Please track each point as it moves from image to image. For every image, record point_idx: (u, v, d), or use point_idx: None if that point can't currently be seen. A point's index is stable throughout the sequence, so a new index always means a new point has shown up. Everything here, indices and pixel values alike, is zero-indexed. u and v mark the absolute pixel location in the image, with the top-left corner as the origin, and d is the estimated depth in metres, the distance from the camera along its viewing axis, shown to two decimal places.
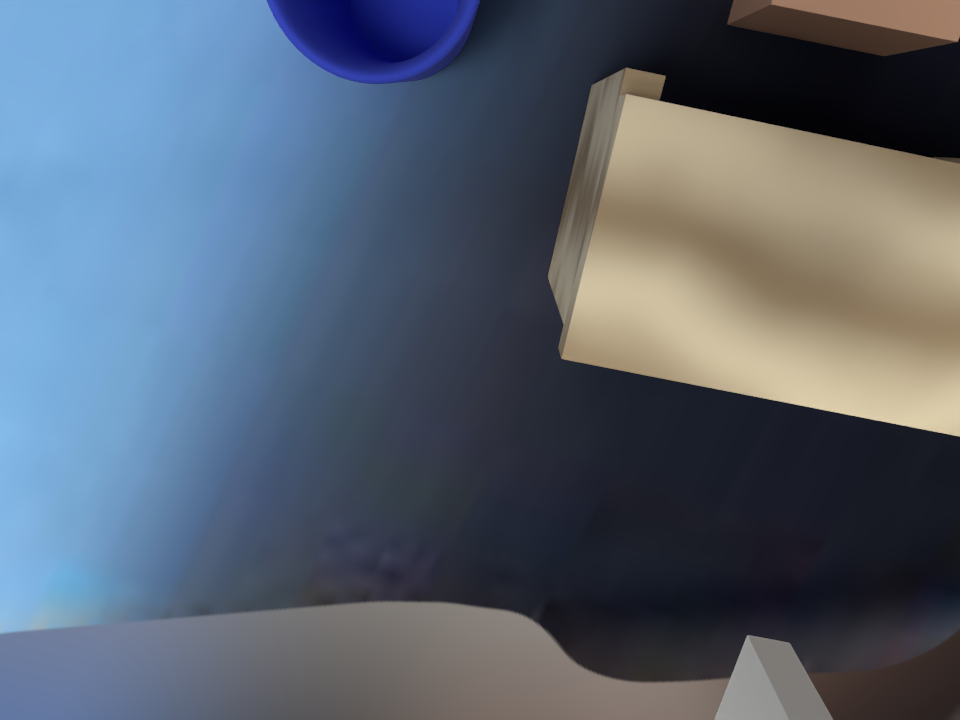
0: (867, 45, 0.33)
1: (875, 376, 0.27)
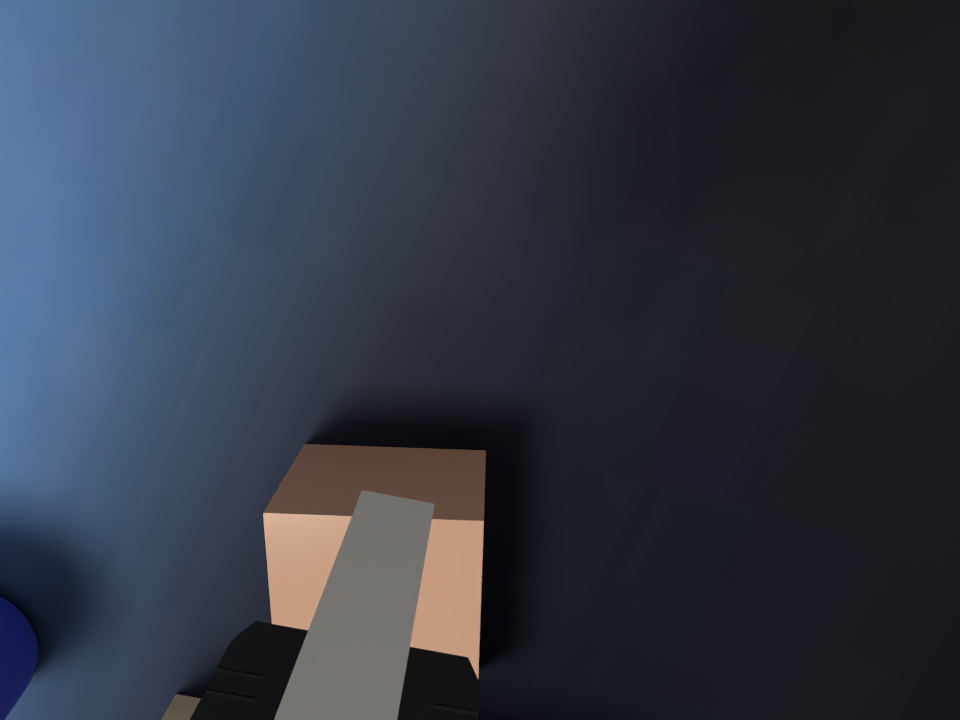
0: None
1: None
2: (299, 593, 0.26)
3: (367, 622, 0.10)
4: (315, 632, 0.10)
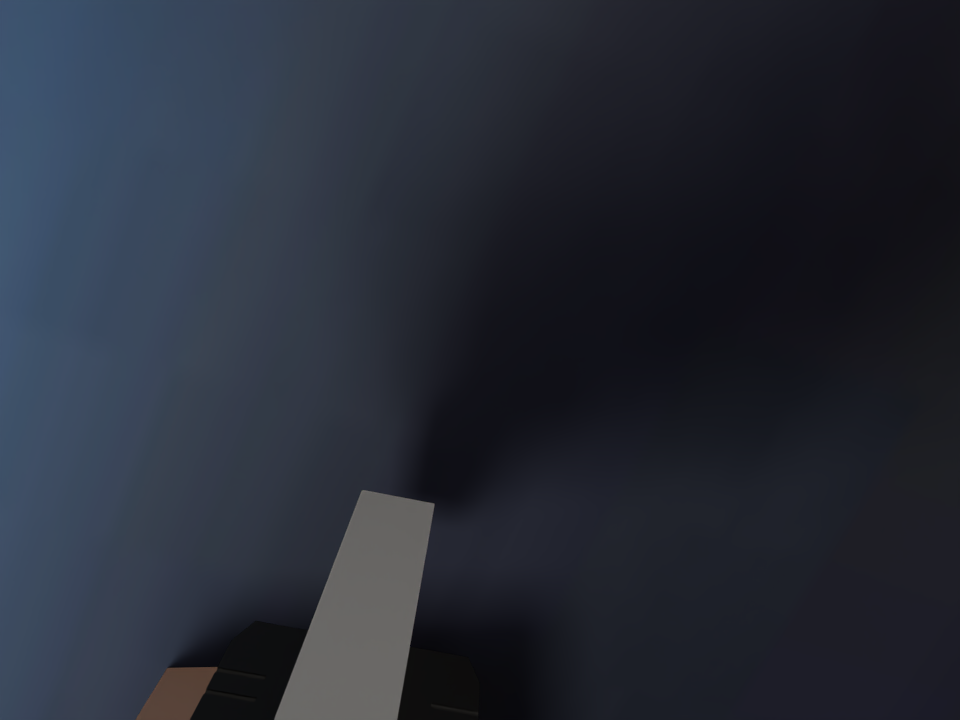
0: None
1: None
2: None
3: (367, 622, 0.10)
4: (315, 632, 0.10)
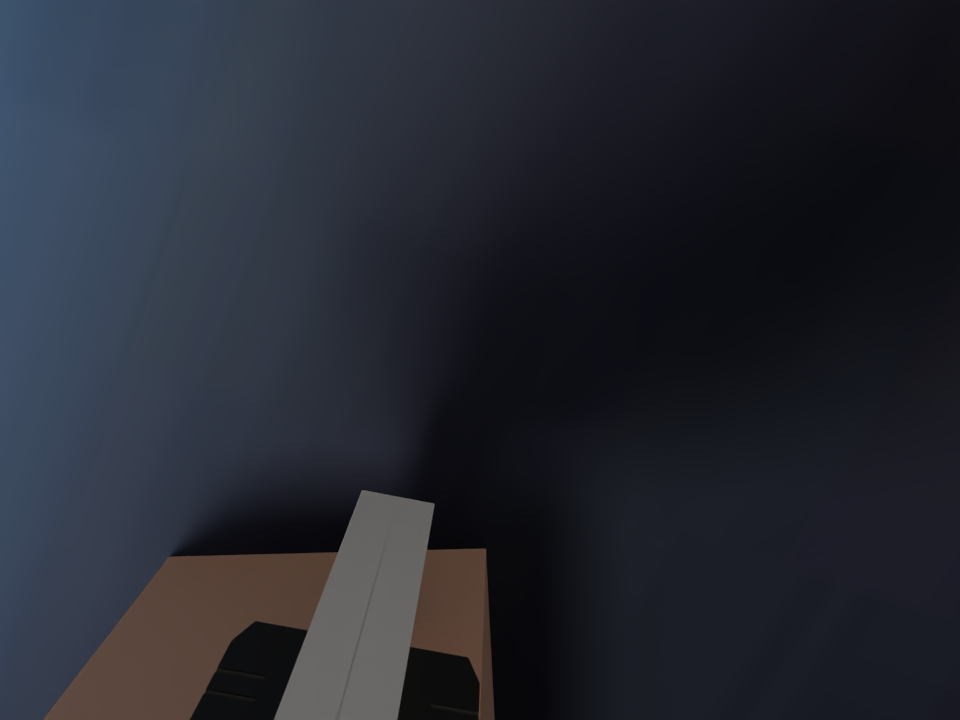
0: None
1: None
2: None
3: (367, 622, 0.10)
4: (315, 632, 0.10)
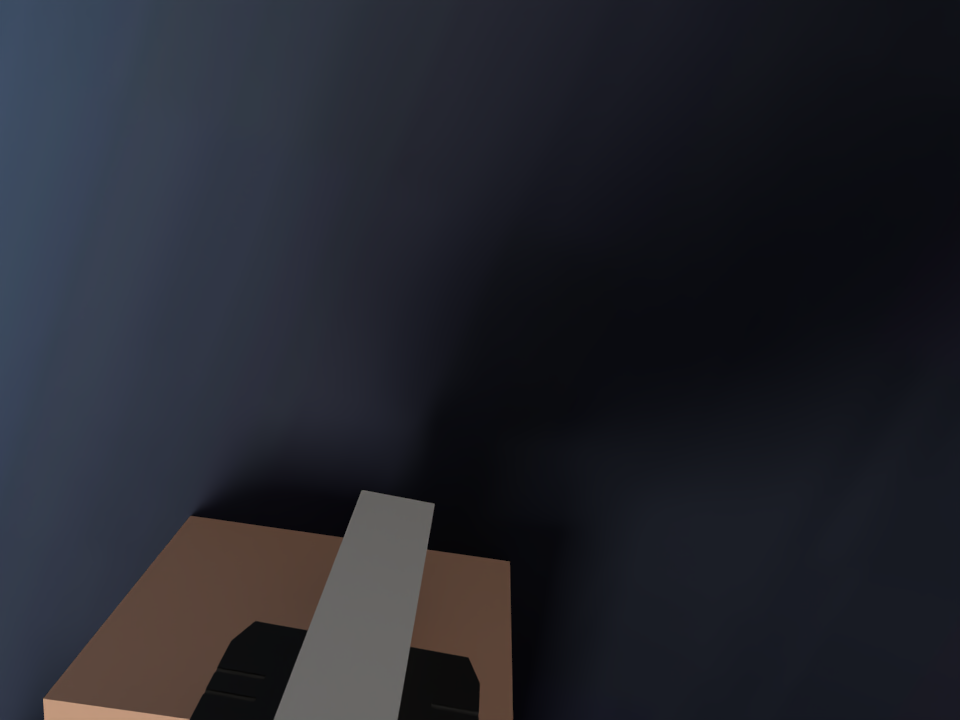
0: None
1: None
2: None
3: (367, 622, 0.10)
4: (315, 632, 0.10)
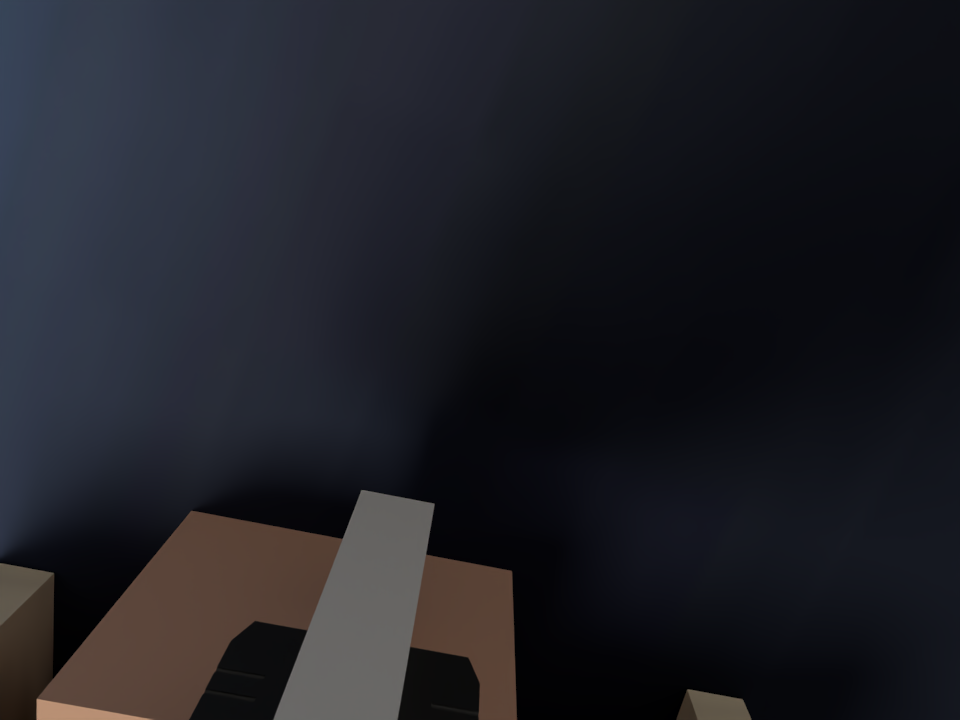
0: None
1: None
2: None
3: (367, 622, 0.10)
4: (314, 632, 0.10)
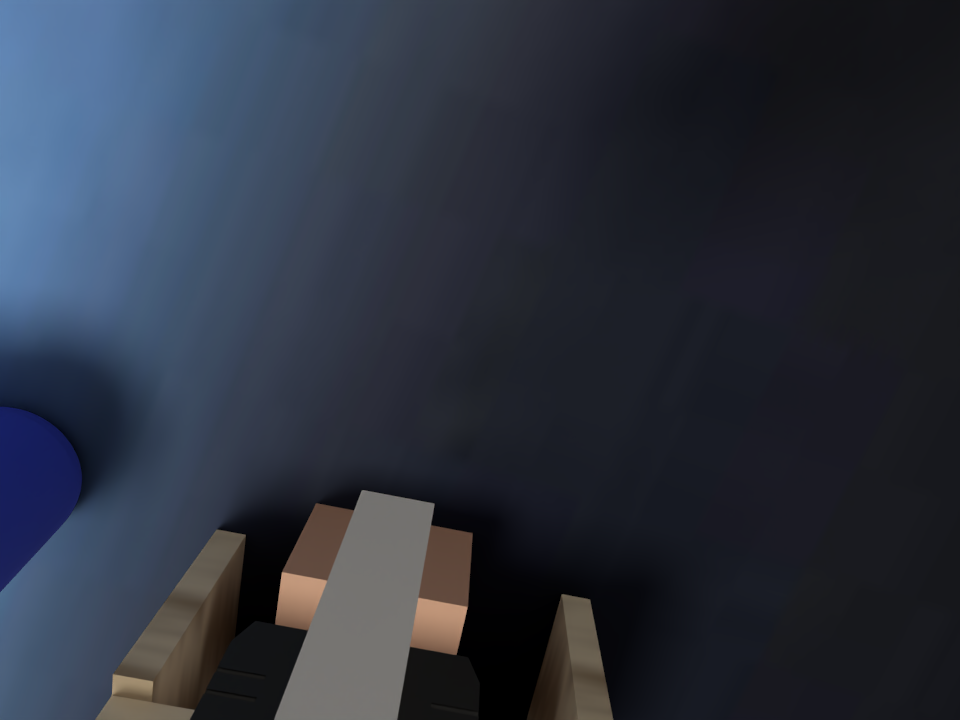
0: None
1: None
2: None
3: (367, 622, 0.10)
4: (315, 632, 0.10)
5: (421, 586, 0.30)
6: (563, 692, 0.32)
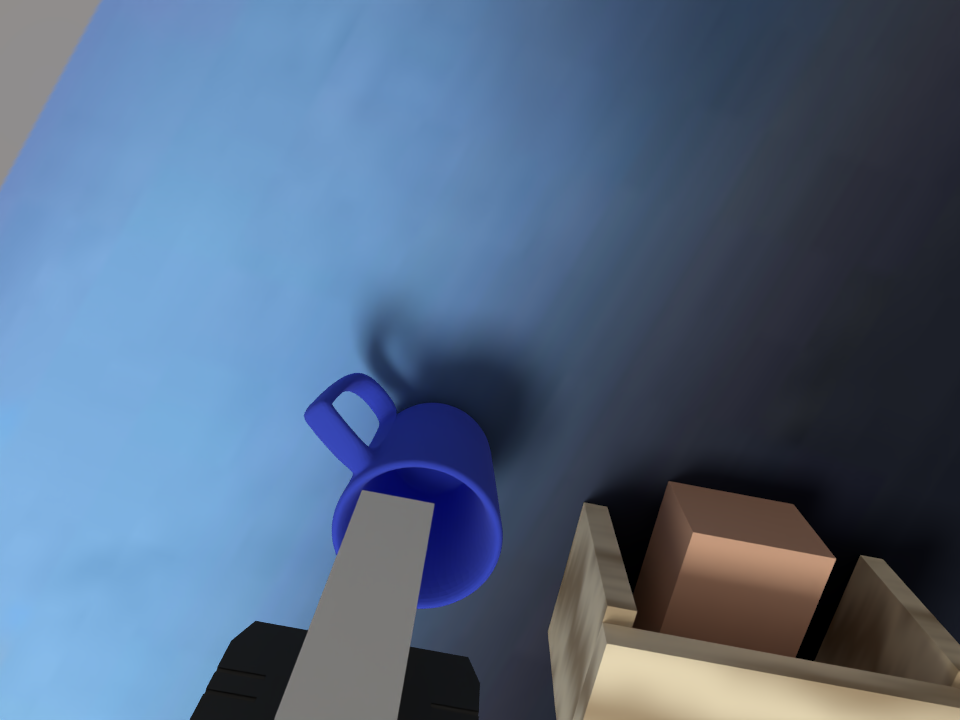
0: None
1: None
2: (695, 588, 0.39)
3: (367, 622, 0.10)
4: (315, 632, 0.10)
5: (793, 543, 0.38)
6: (894, 629, 0.40)
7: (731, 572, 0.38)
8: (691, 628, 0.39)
